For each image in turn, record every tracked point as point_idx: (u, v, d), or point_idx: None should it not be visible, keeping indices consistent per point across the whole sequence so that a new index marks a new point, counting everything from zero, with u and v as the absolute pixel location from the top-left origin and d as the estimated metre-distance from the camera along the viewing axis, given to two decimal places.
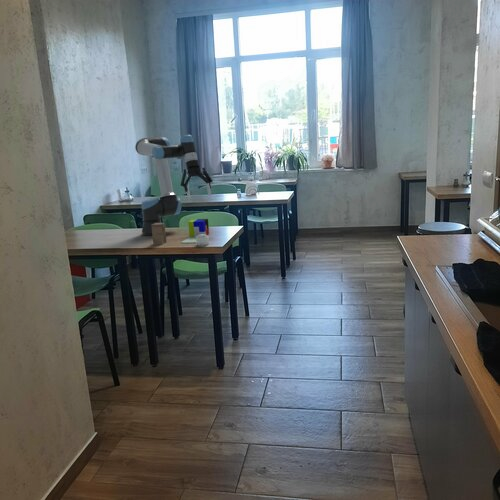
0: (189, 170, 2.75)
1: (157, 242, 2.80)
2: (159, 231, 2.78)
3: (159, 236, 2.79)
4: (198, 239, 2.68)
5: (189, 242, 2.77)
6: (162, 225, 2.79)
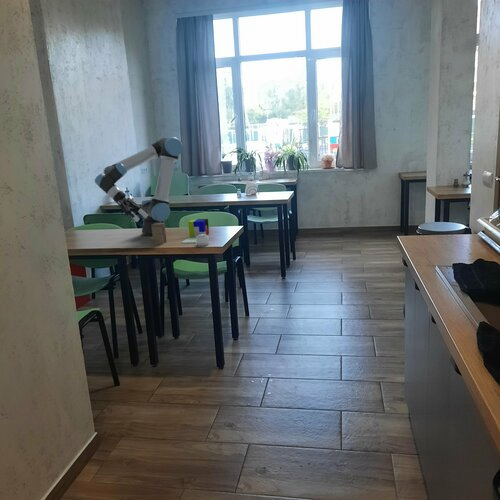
0: None
1: (157, 242, 2.80)
2: (159, 231, 2.78)
3: (159, 236, 2.79)
4: (198, 239, 2.68)
5: (189, 242, 2.77)
6: (162, 225, 2.79)
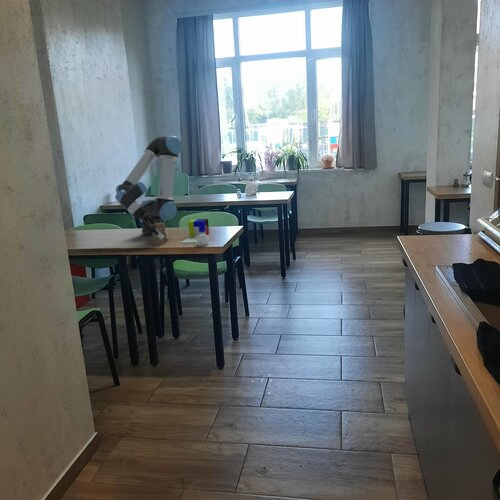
0: None
1: (157, 242, 2.80)
2: (159, 231, 2.78)
3: None
4: (198, 239, 2.68)
5: (189, 242, 2.77)
6: (162, 225, 2.79)
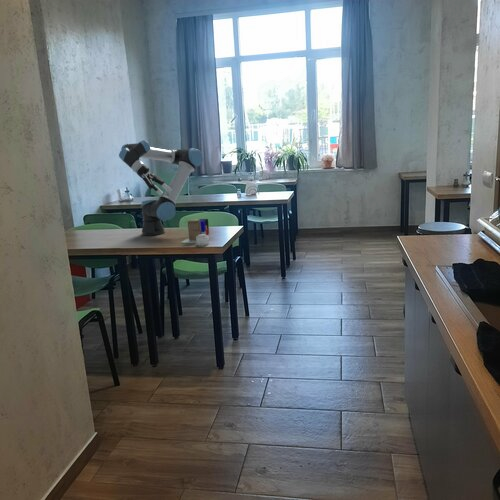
0: None
1: (193, 238, 2.81)
2: (195, 227, 2.79)
3: (195, 232, 2.80)
4: (198, 239, 2.68)
5: (189, 242, 2.77)
6: (198, 221, 2.80)
